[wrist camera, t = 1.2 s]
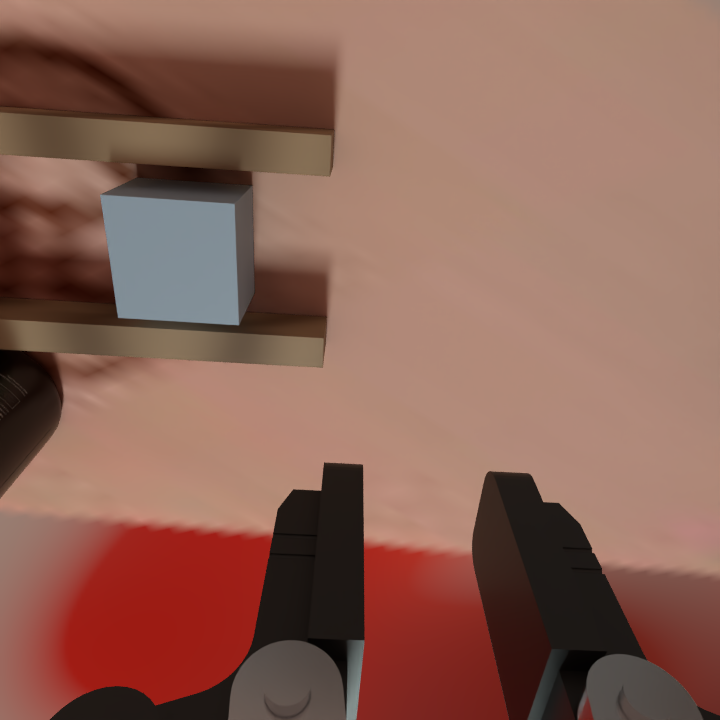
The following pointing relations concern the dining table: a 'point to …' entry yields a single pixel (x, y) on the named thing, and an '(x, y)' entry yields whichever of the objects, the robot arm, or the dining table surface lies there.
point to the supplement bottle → (24, 413)
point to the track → (171, 148)
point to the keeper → (181, 250)
